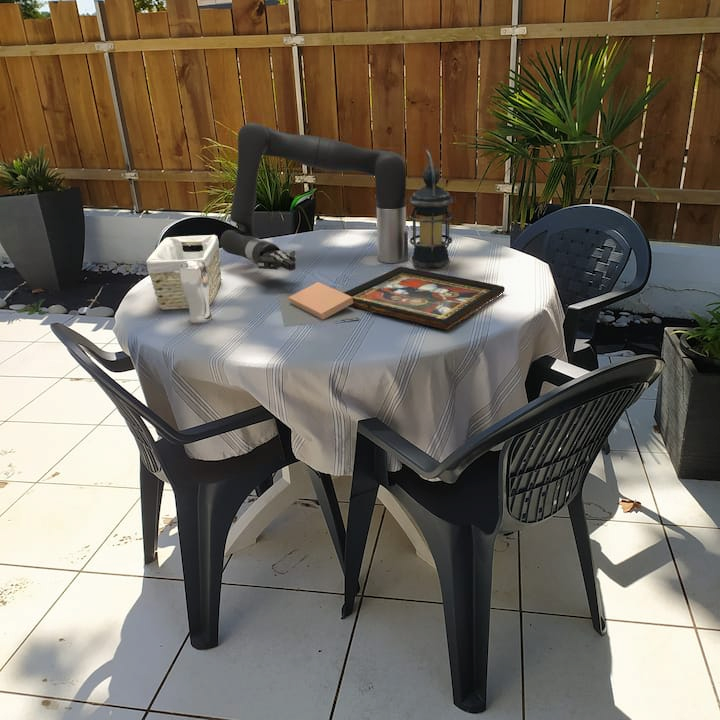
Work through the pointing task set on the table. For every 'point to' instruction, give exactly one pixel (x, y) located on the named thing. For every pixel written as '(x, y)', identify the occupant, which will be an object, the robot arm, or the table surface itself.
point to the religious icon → (423, 296)
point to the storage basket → (168, 273)
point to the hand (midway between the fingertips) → (292, 266)
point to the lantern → (430, 220)
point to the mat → (299, 316)
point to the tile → (321, 300)
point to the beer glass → (196, 290)
